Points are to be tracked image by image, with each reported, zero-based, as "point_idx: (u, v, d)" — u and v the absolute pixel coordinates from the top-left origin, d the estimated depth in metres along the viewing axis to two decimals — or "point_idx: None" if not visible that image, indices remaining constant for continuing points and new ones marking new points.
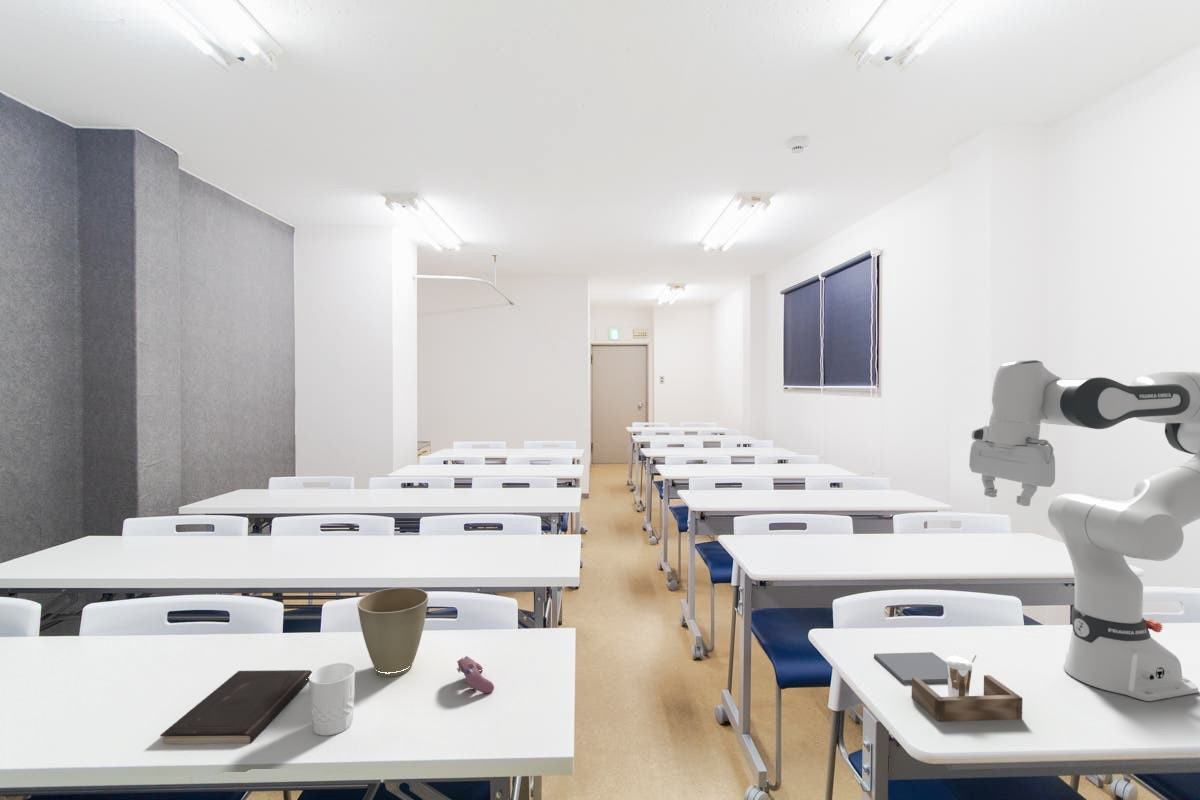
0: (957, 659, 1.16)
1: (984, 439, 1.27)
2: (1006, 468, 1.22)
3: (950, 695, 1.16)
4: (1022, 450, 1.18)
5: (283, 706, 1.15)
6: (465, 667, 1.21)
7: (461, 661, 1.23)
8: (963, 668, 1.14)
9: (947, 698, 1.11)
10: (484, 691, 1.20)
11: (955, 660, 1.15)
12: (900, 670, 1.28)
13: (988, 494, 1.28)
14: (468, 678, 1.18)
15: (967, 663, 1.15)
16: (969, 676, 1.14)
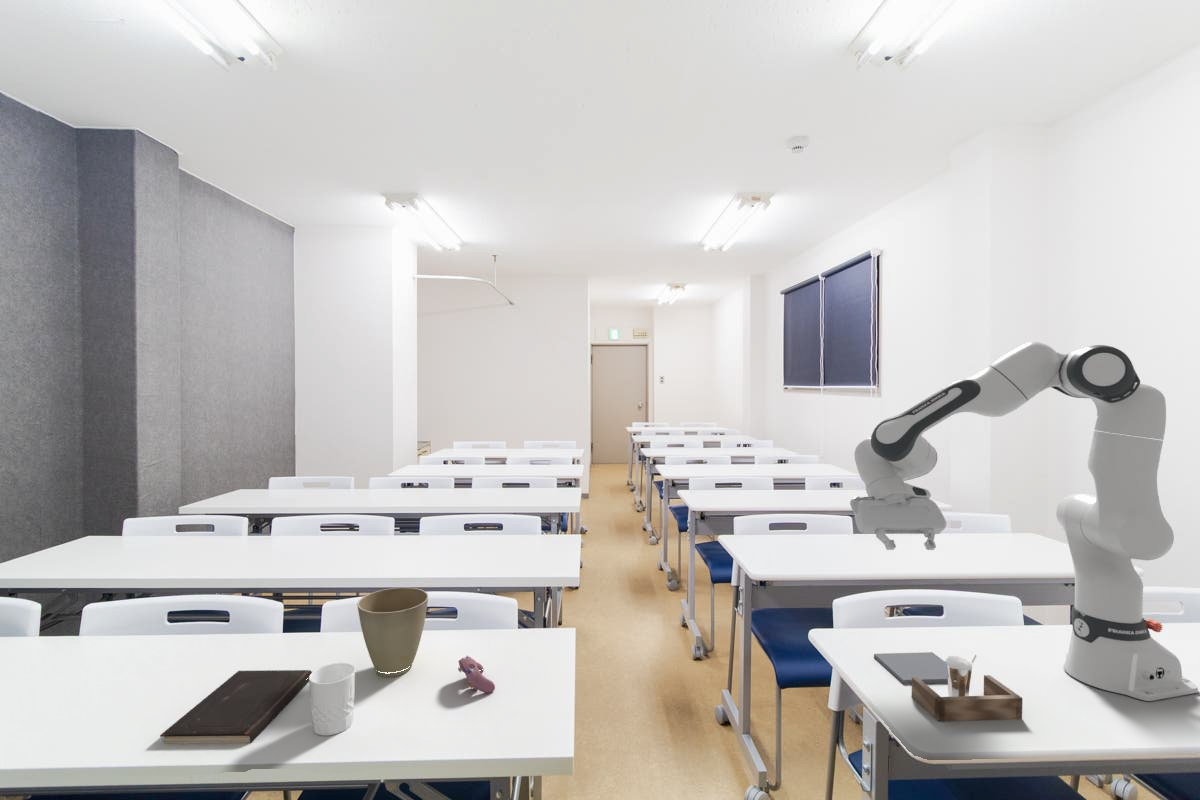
0: (957, 659, 1.16)
1: None
2: None
3: (950, 695, 1.16)
4: None
5: (283, 706, 1.15)
6: (466, 666, 1.21)
7: (462, 661, 1.23)
8: (963, 668, 1.14)
9: (947, 698, 1.11)
10: (485, 691, 1.20)
11: (955, 660, 1.15)
12: (900, 670, 1.28)
13: None
14: (469, 678, 1.19)
15: (967, 663, 1.15)
16: (969, 676, 1.14)
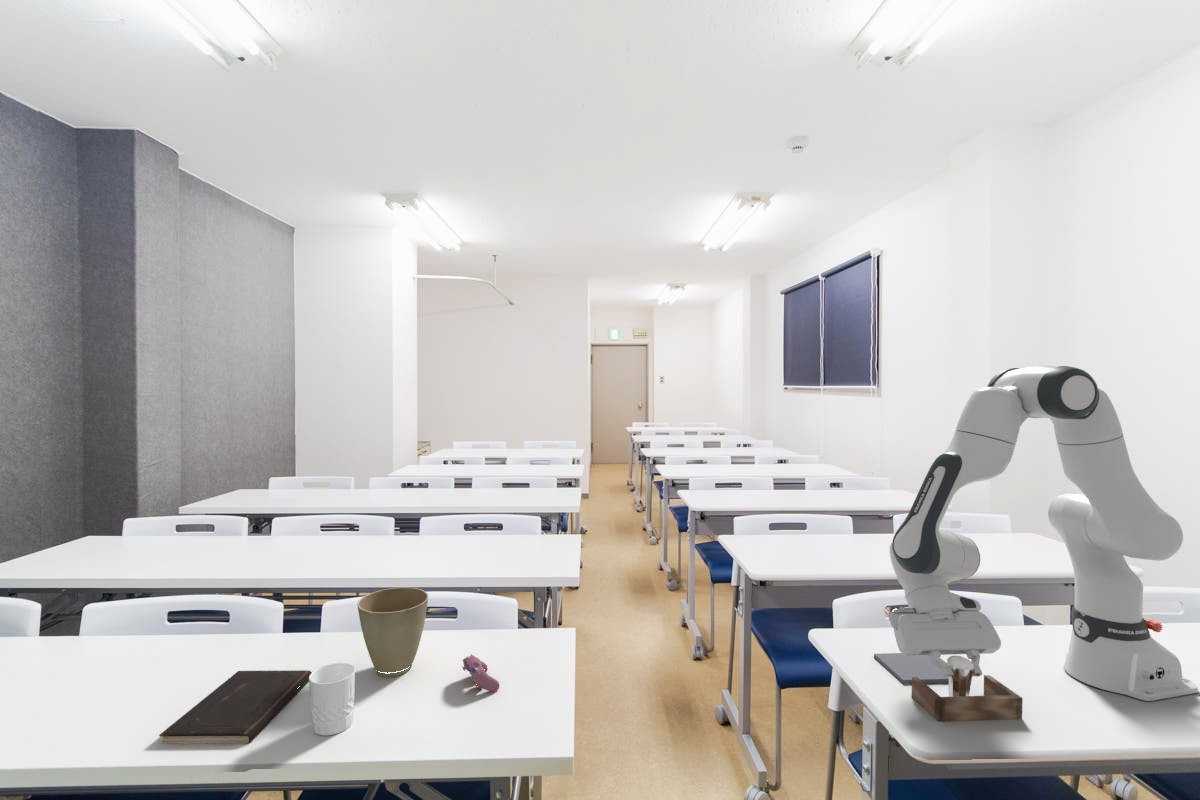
0: (959, 658, 1.16)
1: None
2: None
3: (950, 694, 1.16)
4: None
5: (282, 706, 1.15)
6: (471, 665, 1.21)
7: (466, 659, 1.24)
8: (964, 668, 1.14)
9: (947, 698, 1.11)
10: (490, 689, 1.20)
11: (957, 659, 1.15)
12: (900, 670, 1.28)
13: None
14: (474, 676, 1.19)
15: (969, 663, 1.15)
16: (970, 676, 1.14)
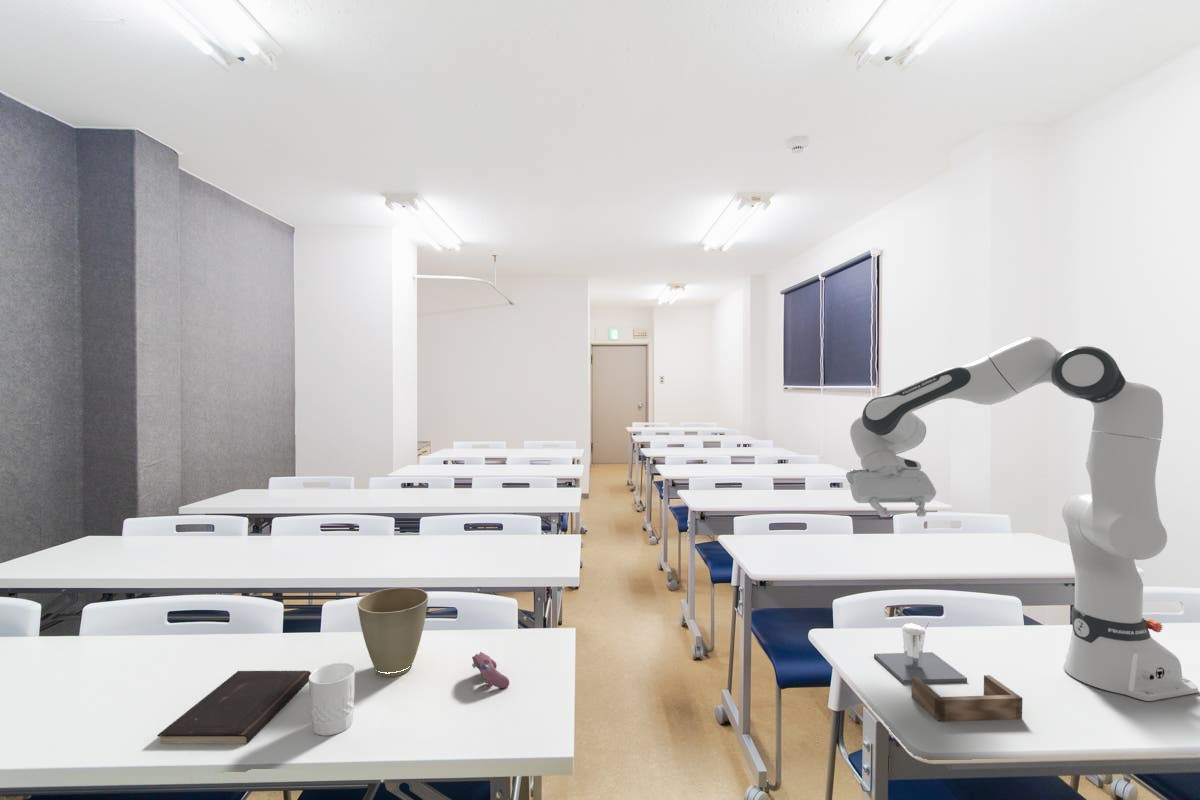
0: (912, 626, 1.29)
1: None
2: None
3: (906, 658, 1.30)
4: None
5: (281, 707, 1.14)
6: (481, 662, 1.23)
7: (476, 657, 1.25)
8: (916, 633, 1.28)
9: (947, 698, 1.11)
10: (500, 686, 1.22)
11: (910, 627, 1.29)
12: (900, 670, 1.28)
13: None
14: (484, 673, 1.20)
15: (920, 629, 1.28)
16: (922, 641, 1.28)
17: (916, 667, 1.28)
